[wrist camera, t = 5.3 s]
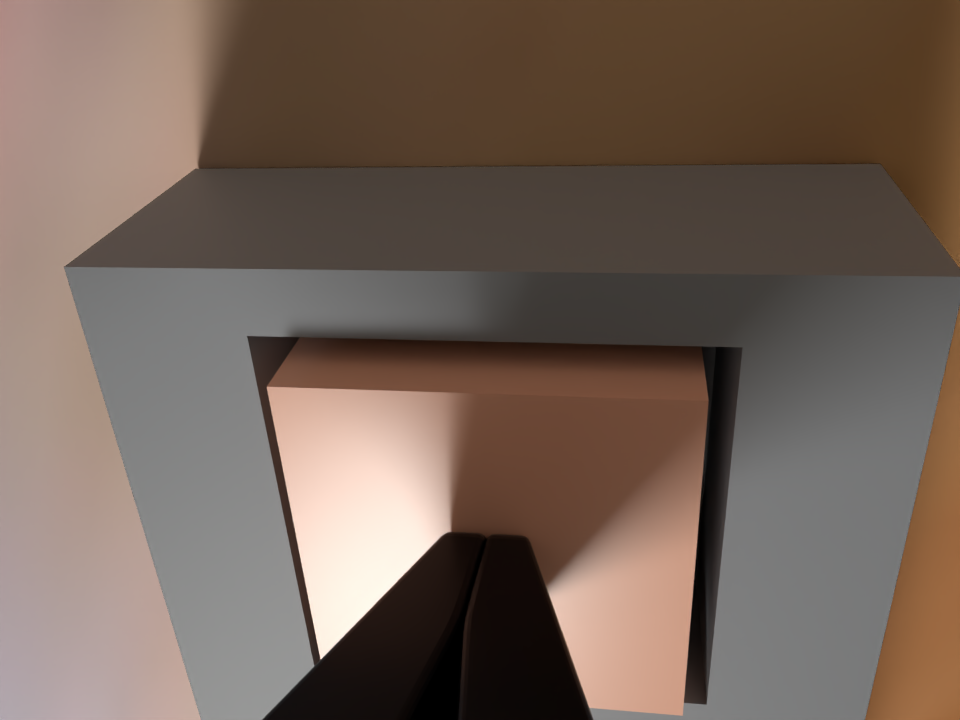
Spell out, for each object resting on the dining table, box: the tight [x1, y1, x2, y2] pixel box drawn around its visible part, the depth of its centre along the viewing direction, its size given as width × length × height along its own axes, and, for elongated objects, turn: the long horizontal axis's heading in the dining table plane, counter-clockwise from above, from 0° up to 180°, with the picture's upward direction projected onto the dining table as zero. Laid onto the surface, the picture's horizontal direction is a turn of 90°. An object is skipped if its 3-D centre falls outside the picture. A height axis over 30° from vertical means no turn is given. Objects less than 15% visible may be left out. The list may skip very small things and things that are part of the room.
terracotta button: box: [267, 337, 709, 716], centre depth 10 cm, size 4×4×2 cm
